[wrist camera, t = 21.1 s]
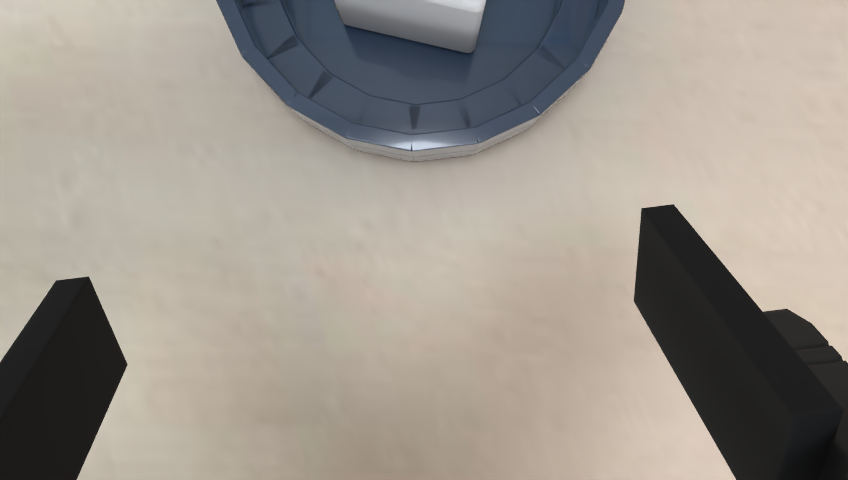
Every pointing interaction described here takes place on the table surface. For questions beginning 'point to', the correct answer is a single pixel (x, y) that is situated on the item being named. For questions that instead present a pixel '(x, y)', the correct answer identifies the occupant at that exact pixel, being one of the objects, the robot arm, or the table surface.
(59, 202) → the table surface
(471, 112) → the bowl
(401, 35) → the medicine bottle
